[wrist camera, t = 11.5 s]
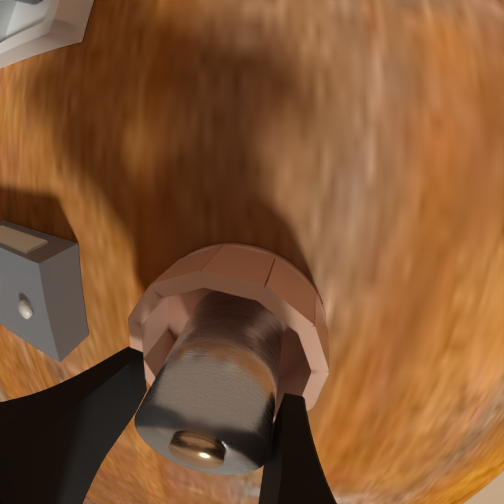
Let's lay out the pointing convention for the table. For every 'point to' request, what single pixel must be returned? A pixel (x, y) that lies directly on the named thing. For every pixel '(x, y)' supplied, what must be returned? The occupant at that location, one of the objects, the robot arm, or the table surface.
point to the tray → (40, 27)
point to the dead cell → (217, 388)
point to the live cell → (30, 1)
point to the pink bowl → (244, 285)
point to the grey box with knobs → (41, 289)
